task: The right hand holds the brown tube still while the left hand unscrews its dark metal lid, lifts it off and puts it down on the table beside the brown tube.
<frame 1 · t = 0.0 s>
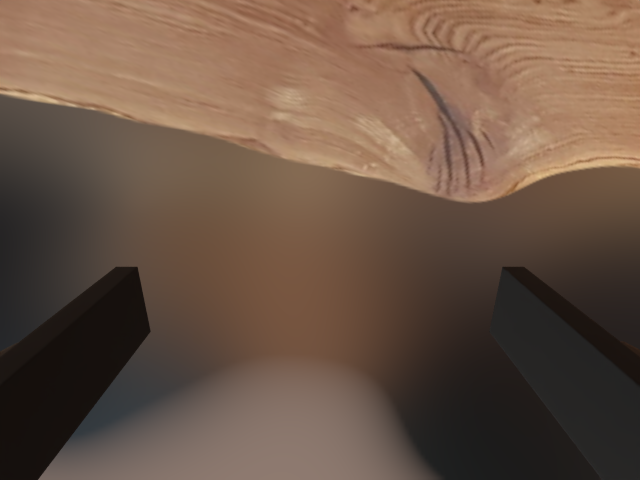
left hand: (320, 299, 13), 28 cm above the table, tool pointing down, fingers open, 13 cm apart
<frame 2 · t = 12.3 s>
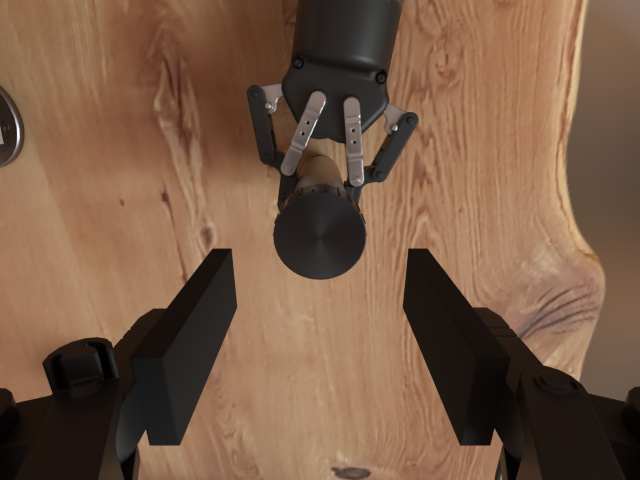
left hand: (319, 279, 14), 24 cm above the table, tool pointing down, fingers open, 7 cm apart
right hand: (314, 219, 31), fingers closed on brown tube, 4 cm apart
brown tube: (319, 175, 37), on the table, touching right hand
lid: (319, 236, 19), point 18 cm above the table, screwed on, not yet turned
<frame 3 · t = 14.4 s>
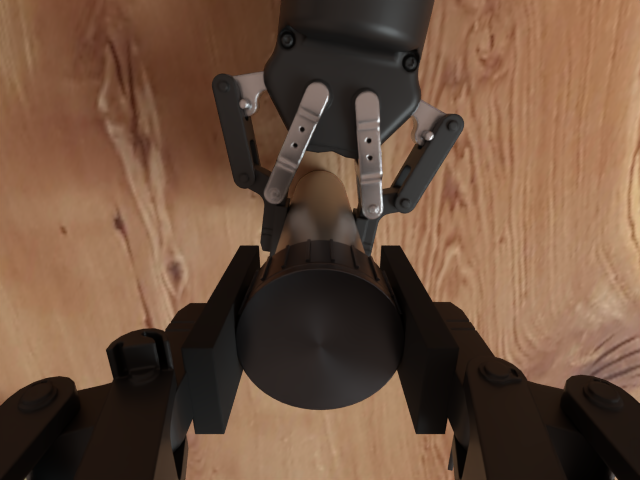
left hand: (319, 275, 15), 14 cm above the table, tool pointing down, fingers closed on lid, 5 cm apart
right hand: (312, 260, 23), fingers closed on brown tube, 4 cm apart
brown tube: (320, 196, 28), on the table, touching right hand
lid: (320, 338, 11), point 18 cm above the table, screwed on, not yet turned, touching left hand
when the left hand's fingers open (14 cm above the table, at t = 15.5 s): lid stays where it is, point 19 cm above the table.
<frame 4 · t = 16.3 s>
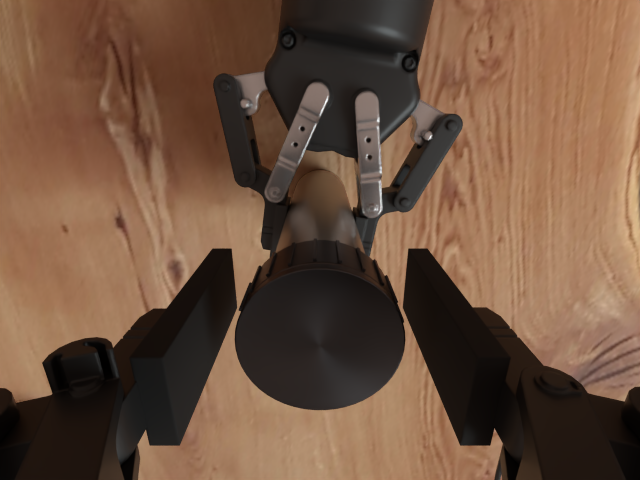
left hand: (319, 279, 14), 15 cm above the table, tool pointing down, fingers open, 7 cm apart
right hand: (312, 259, 23), fingers closed on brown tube, 4 cm apart
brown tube: (319, 195, 28), on the table, touching right hand
lid: (320, 338, 11), point 19 cm above the table, turned 77° so far, risen 0.2 cm, still on its thread
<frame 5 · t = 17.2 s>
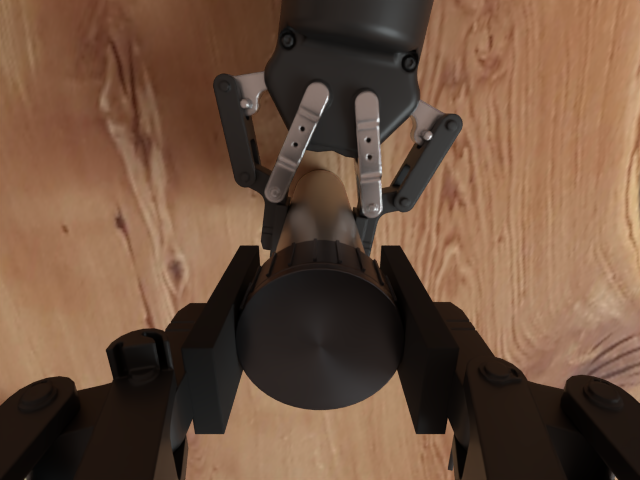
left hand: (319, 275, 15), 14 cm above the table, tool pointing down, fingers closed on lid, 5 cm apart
right hand: (312, 259, 23), fingers closed on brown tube, 4 cm apart
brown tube: (320, 195, 28), on the table, touching right hand
lid: (320, 338, 11), point 19 cm above the table, turned 77° so far, risen 0.2 cm, still on its thread, touching left hand
when the left hand's fingers open (0 cm above the table, at t = 22.9 s): lid drops 2 cm, point 2 cm above the table.
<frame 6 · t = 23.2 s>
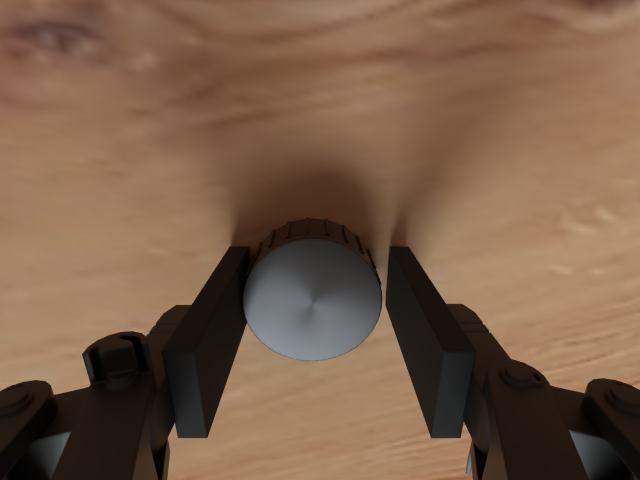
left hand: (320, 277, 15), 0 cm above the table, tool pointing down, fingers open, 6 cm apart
lid: (312, 299, 13), point 2 cm above the table, off its thread
when the right hand's fingers open (7 cm above the table, at t = 24.0 s): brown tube stays where it is, on the table.
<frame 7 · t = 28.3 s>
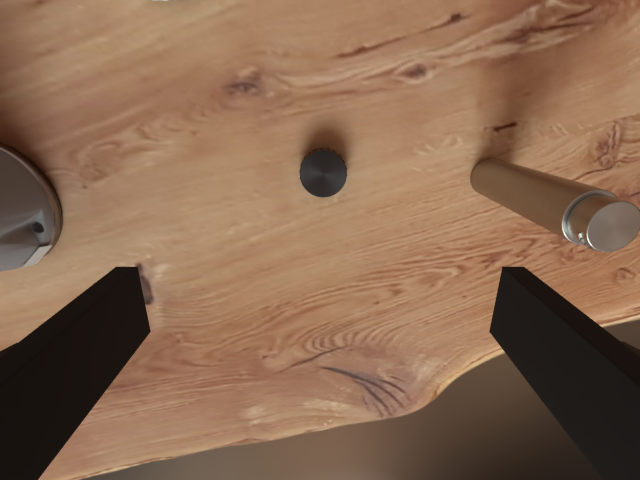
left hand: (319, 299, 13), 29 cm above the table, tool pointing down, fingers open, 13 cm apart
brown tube: (488, 176, 40), on the table
lid: (323, 173, 38), point 2 cm above the table, off its thread
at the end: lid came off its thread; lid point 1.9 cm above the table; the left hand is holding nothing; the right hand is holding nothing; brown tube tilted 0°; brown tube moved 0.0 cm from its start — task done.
